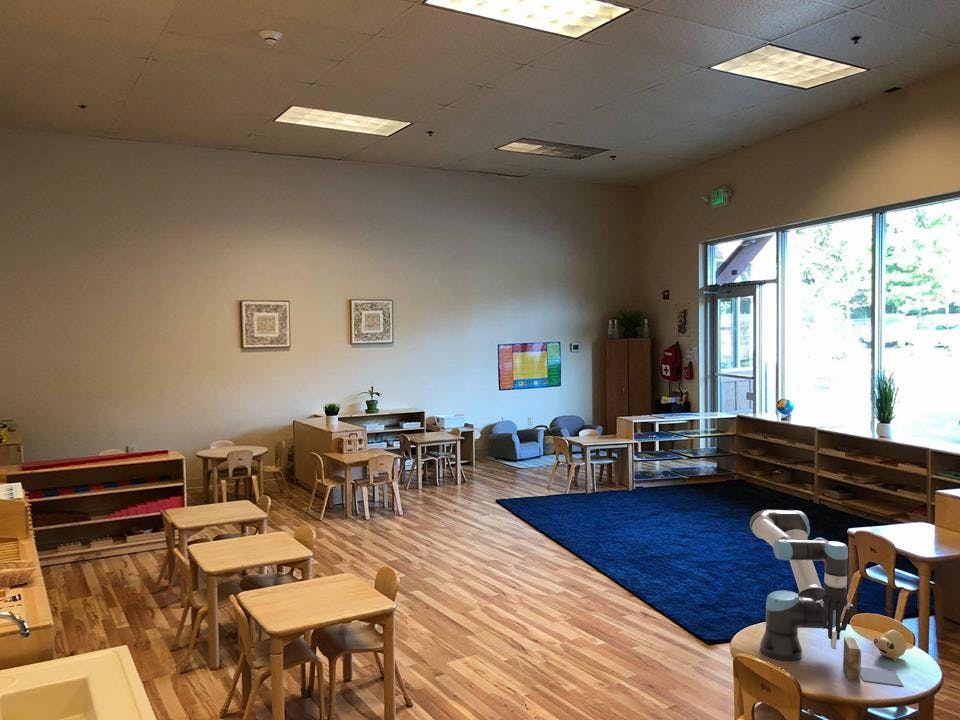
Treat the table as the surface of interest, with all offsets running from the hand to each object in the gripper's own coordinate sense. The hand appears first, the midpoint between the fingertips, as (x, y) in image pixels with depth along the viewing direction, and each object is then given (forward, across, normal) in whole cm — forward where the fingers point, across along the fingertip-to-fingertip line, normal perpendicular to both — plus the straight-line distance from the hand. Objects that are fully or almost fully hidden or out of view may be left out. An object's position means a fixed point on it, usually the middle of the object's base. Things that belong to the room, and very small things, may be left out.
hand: (833, 647), depth 269 cm
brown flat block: (+10, +6, 0) cm, 12 cm away
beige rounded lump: (+10, +23, +20) cm, 32 cm away
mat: (+10, +16, +2) cm, 19 cm away
